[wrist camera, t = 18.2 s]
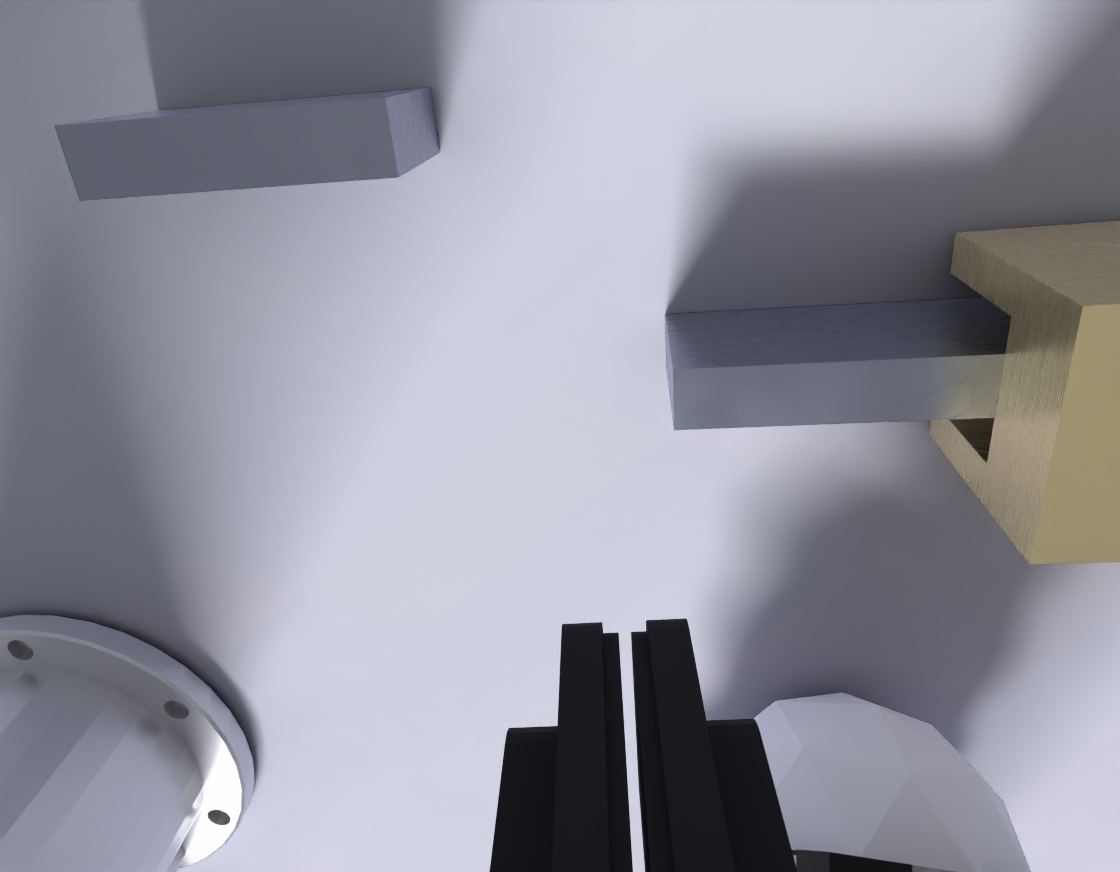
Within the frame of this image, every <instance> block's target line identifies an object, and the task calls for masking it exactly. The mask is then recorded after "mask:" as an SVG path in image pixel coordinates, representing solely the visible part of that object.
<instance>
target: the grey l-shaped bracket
mask: <svg viewBox="0 0 1120 872" xmlns="http://www.w3.org/2000/svg"><path fill="white" fill-rule="evenodd" d="M1010 323H1011V316H1010V315H1009V314H1007V313H1006V312H1004V311H1003V310H1001V309H1000V308H999V307H997V306H996V305H994V304H993V303H992V302H990V301H989V300H987V299H986V298H985V297H978V298H960V299H941V300H922V301H903V302H885V303H866V304H847V305H828V306H810V307H791V308H772V309H754V310H735V311H716V312H697V313H679V314H665V334H666V369H667V377H668V385H669V393H670V401H671V409H672V417H673V425H674V430H687V429H713V428H739V427H765V426H791V425H817V424H842V423H868V422H894V421H920V420H946V419H972V418H995V412H996V406H997V401H998V395H999V389H1000V383H1001V377H1002V371H1003V365H1004V359H1005V353H1006V347H1007V341H1008V335H1009V329H1010Z"/></svg>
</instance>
